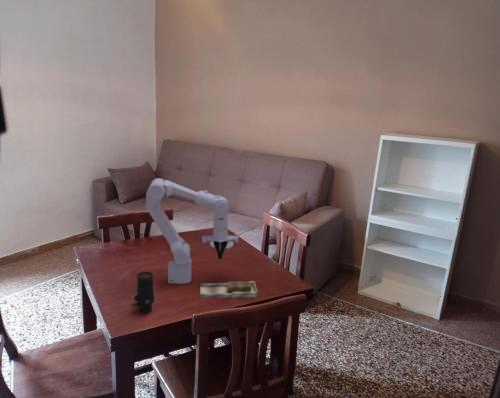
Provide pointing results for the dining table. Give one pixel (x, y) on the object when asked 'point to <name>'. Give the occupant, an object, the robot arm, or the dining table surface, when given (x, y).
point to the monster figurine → (229, 244)
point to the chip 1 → (233, 287)
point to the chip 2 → (245, 286)
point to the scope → (145, 291)
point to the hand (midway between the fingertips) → (219, 258)
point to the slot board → (224, 291)
